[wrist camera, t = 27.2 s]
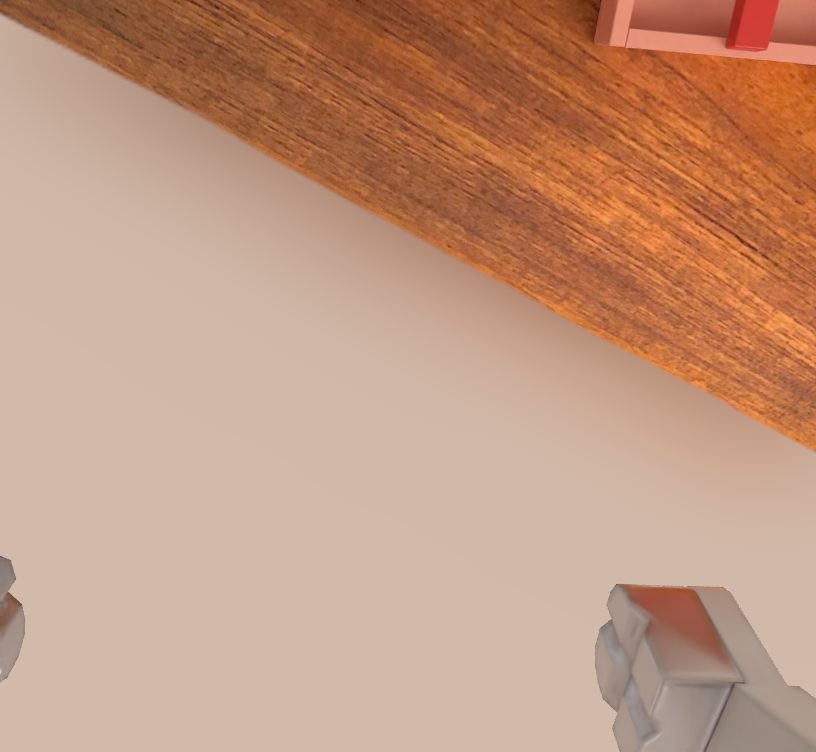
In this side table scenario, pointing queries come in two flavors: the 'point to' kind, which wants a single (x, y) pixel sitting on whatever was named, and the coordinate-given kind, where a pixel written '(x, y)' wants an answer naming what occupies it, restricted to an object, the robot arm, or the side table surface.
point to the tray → (704, 28)
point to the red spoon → (751, 25)
